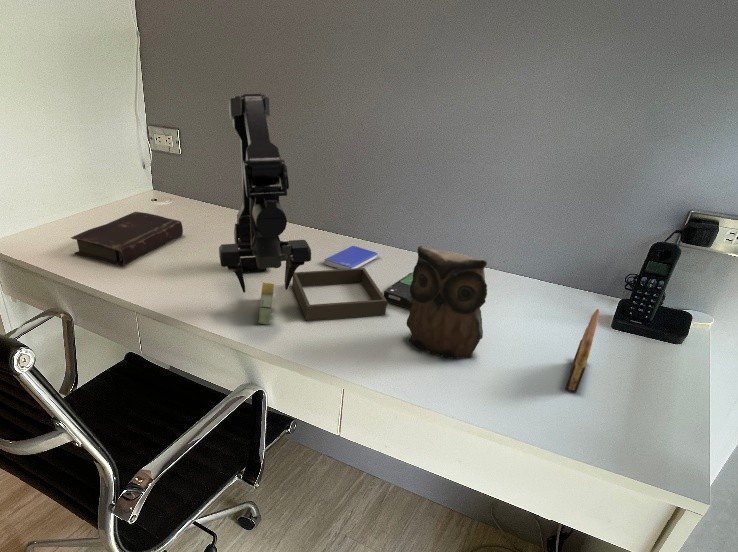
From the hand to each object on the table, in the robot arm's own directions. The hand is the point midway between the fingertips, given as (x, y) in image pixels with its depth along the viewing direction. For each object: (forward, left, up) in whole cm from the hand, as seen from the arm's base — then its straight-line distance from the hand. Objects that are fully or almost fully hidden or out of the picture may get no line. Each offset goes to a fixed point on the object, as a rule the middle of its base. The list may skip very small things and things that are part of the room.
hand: (265, 290), depth 123 cm
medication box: (0, 0, -5) cm, 5 cm away
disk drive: (+36, +2, -5) cm, 36 cm away
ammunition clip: (+53, -34, -5) cm, 63 cm away
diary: (-32, +44, -5) cm, 55 cm away
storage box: (+17, +3, -5) cm, 18 cm away
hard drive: (+26, +24, -5) cm, 36 cm away
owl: (+34, -19, -5) cm, 39 cm away
